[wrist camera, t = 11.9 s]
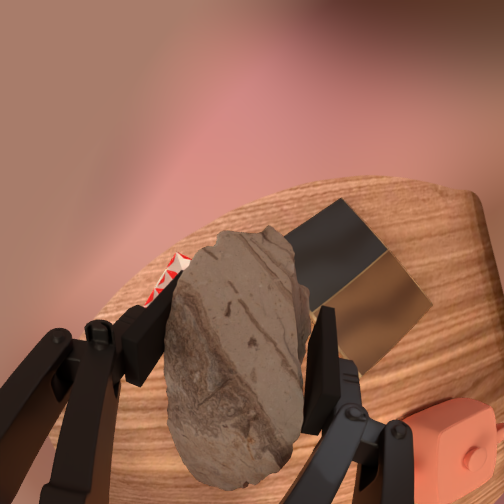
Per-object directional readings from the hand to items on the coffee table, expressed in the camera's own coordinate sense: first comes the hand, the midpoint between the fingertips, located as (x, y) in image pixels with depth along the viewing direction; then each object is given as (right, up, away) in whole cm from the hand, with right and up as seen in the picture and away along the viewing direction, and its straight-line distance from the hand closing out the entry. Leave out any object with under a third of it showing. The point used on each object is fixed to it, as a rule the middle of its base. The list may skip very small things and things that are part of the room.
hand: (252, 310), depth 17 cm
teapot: (+20, -20, +10) cm, 30 cm away
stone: (-1, -5, +2) cm, 5 cm away
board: (+12, 0, +18) cm, 21 cm away
